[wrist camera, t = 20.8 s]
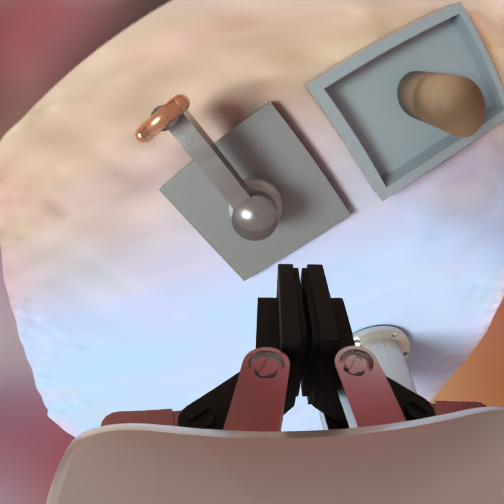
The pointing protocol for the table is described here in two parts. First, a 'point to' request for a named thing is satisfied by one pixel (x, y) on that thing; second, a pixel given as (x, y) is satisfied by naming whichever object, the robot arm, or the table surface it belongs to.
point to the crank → (214, 168)
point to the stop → (443, 101)
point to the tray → (386, 101)
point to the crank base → (277, 165)
